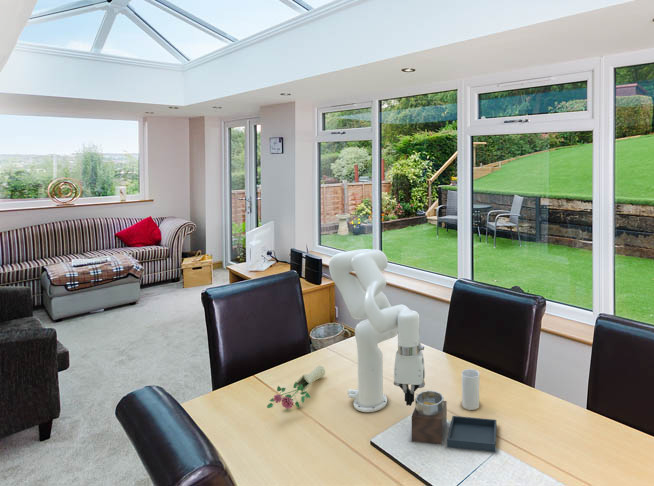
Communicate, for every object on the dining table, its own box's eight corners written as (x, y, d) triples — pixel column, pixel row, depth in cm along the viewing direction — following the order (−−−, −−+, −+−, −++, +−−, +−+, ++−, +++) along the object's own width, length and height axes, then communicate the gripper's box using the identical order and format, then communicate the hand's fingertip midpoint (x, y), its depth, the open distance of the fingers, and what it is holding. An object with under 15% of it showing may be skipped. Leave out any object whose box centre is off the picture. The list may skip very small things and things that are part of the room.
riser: (411, 441, 139) (411, 416, 139) (418, 421, 149) (418, 398, 150) (441, 444, 137) (441, 419, 137) (446, 424, 148) (446, 400, 148)
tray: (447, 447, 136) (447, 439, 136) (452, 422, 149) (452, 415, 149) (495, 452, 133) (495, 444, 133) (496, 427, 146) (496, 419, 146)
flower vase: (325, 398, 179) (291, 428, 145) (299, 387, 181) (259, 415, 147) (335, 369, 182) (304, 392, 148) (309, 359, 183) (273, 379, 150)
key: (422, 406, 144) (422, 404, 144) (423, 402, 146) (423, 401, 146) (436, 407, 143) (436, 405, 143) (437, 403, 145) (437, 402, 145)
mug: (477, 412, 155) (476, 378, 155) (459, 408, 157) (459, 375, 158) (483, 398, 164) (483, 366, 165) (467, 395, 167) (466, 364, 167)
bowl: (413, 415, 140) (413, 404, 140) (419, 399, 149) (419, 389, 149) (440, 417, 138) (440, 406, 138) (445, 402, 147) (445, 391, 147)
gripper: (432, 345, 148) (433, 399, 147) (390, 343, 150) (391, 396, 150) (428, 354, 140) (429, 411, 140) (384, 351, 143) (385, 407, 142)
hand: (409, 403), depth 145 cm, fingers closed
